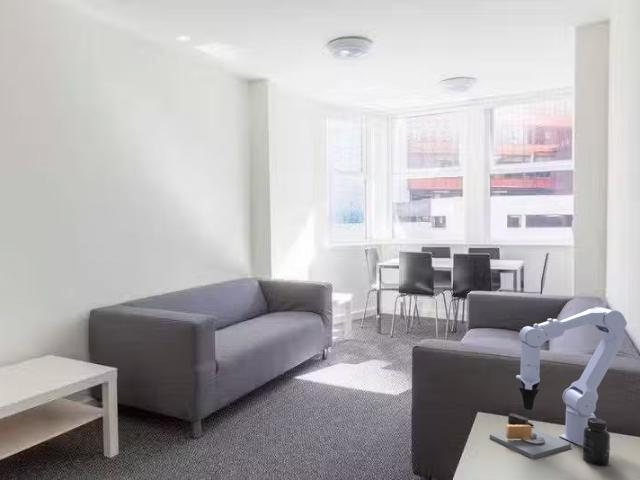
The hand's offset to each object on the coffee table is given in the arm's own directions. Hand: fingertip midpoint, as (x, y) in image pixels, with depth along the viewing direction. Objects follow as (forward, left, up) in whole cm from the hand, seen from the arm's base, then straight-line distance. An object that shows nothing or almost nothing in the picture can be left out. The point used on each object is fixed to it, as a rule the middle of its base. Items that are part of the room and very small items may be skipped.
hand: (528, 405), depth 155 cm
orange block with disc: (+5, +3, -9) cm, 11 cm away
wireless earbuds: (-7, -8, -11) cm, 15 cm away
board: (+3, +3, -10) cm, 11 cm away
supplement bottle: (-4, +20, -11) cm, 23 cm away
